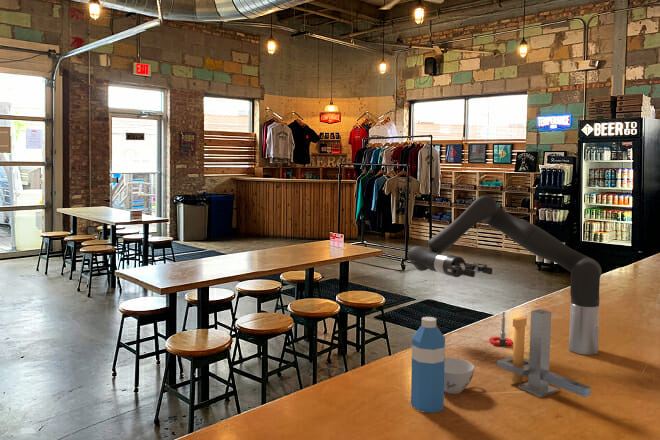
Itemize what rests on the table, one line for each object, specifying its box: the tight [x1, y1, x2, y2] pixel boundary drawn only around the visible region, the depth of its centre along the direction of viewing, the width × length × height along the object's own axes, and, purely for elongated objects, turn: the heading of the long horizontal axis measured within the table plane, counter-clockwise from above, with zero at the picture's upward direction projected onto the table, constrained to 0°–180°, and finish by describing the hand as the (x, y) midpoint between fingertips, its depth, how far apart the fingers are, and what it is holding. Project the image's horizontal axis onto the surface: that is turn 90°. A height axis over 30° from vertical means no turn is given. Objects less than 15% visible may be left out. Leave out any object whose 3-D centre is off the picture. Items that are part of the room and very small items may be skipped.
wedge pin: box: [511, 316, 528, 384], centre depth 171 cm, size 4×3×20 cm
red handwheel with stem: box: [488, 311, 514, 347], centre depth 207 cm, size 8×13×9 cm
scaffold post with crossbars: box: [496, 308, 592, 398], centre depth 162 cm, size 28×9×24 cm, turn 31°
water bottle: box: [410, 316, 446, 414], centre depth 153 cm, size 9×9×25 cm
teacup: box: [444, 356, 475, 395], centre depth 166 cm, size 15×12×8 cm
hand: (483, 272), depth 189 cm, fingers open, 8 cm apart
